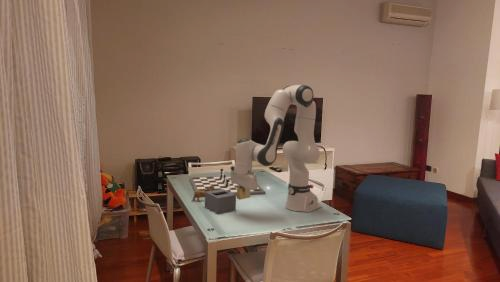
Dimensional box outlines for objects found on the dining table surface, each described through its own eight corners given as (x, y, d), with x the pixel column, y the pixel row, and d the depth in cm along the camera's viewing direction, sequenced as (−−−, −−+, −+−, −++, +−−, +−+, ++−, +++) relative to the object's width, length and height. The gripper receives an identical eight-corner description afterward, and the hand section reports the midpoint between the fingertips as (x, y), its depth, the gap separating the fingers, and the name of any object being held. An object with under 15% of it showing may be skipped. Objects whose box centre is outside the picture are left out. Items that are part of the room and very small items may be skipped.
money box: (222, 203, 217) (222, 188, 215) (235, 210, 206) (236, 194, 204) (204, 206, 210) (205, 191, 208) (217, 214, 198) (217, 198, 197)
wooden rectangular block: (247, 196, 199) (247, 185, 198) (250, 197, 197) (250, 186, 196) (237, 198, 195) (237, 187, 194) (239, 199, 193) (239, 188, 192)
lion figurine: (212, 198, 226) (213, 184, 225) (216, 200, 222) (216, 186, 220) (190, 200, 220) (190, 186, 218) (192, 203, 215) (193, 188, 214)
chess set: (189, 180, 270) (189, 165, 268) (247, 178, 282) (248, 164, 280) (196, 198, 227) (197, 180, 225) (265, 195, 239) (266, 178, 237)
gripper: (260, 172, 187) (260, 197, 190) (237, 164, 203) (237, 188, 206) (250, 173, 184) (250, 200, 186) (228, 166, 200) (228, 190, 202)
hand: (243, 194), depth 196 cm, fingers closed on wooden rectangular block, 2 cm apart
